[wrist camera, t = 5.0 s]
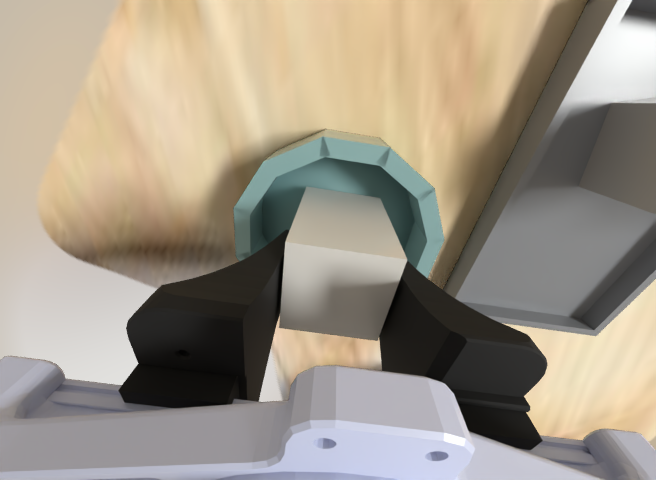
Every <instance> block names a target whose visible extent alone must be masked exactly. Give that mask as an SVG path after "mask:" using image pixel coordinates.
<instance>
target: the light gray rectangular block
mask: <svg viewBox="0 0 656 480" xmlns="http://www.w3.org/2000/svg"><path fill="white" fill-rule="evenodd" d="M578 187H581V188H584V189H586V190H589V191H592V192H595V193H598V194H600V195H603V196H606V197H609V198H611V199H614V200H617V201H620V202H623V203H625V204H628V205H631V206H634V207H636V208H639V209H642V210H645V211H647V212H650V213H653V214H656V98H648V99H639V100H631V101H623V102H615V103H611V105H610V108H609V110H608V113H607V115H606V118H605V120H604V123H603V126H602V128H601V131H600V133H599V136H598V138H597V141H596V143H595V146H594V148H593V151H592V153H591V156H590V158H589V161H588V163H587V166H586V168H585V171H584V173H583V176H582V178H581V181H580V184H579V186H578Z"/></svg>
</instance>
